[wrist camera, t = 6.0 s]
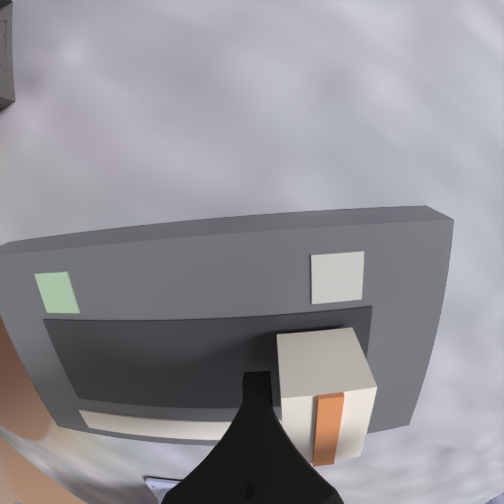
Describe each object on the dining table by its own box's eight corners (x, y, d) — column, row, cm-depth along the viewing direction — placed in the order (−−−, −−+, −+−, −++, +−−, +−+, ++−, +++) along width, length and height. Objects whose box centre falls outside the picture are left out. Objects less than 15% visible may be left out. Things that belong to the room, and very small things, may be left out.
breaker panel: (396, 396, 17) (409, 426, 15) (71, 402, 19) (57, 426, 16) (426, 205, 13) (455, 220, 11) (8, 242, 15) (-21, 258, 12)
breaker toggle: (344, 397, 14) (361, 459, 10) (280, 403, 14) (284, 469, 10) (352, 327, 12) (379, 391, 9) (276, 334, 12) (281, 402, 9)
